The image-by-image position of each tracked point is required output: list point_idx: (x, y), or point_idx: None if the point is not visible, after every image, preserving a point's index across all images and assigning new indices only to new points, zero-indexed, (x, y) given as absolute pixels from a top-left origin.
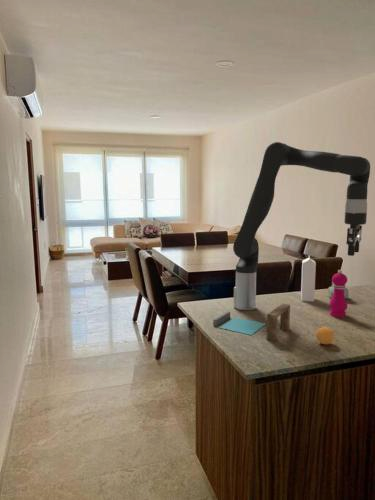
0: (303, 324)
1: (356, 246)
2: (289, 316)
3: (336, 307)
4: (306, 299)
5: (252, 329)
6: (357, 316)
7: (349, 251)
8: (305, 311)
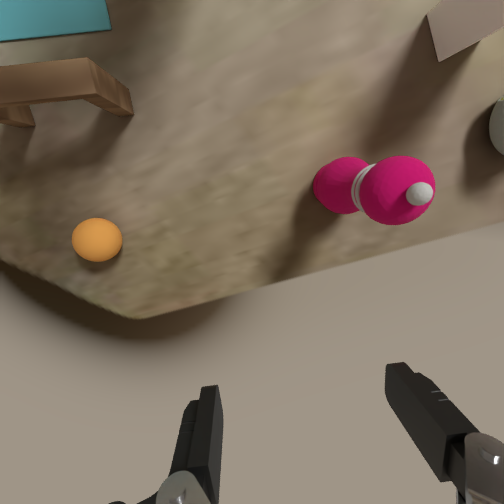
0: (194, 134)
1: (416, 427)
2: (115, 105)
3: (318, 190)
4: (435, 30)
5: (32, 17)
6: (352, 231)
7: (182, 428)
8: (312, 85)
